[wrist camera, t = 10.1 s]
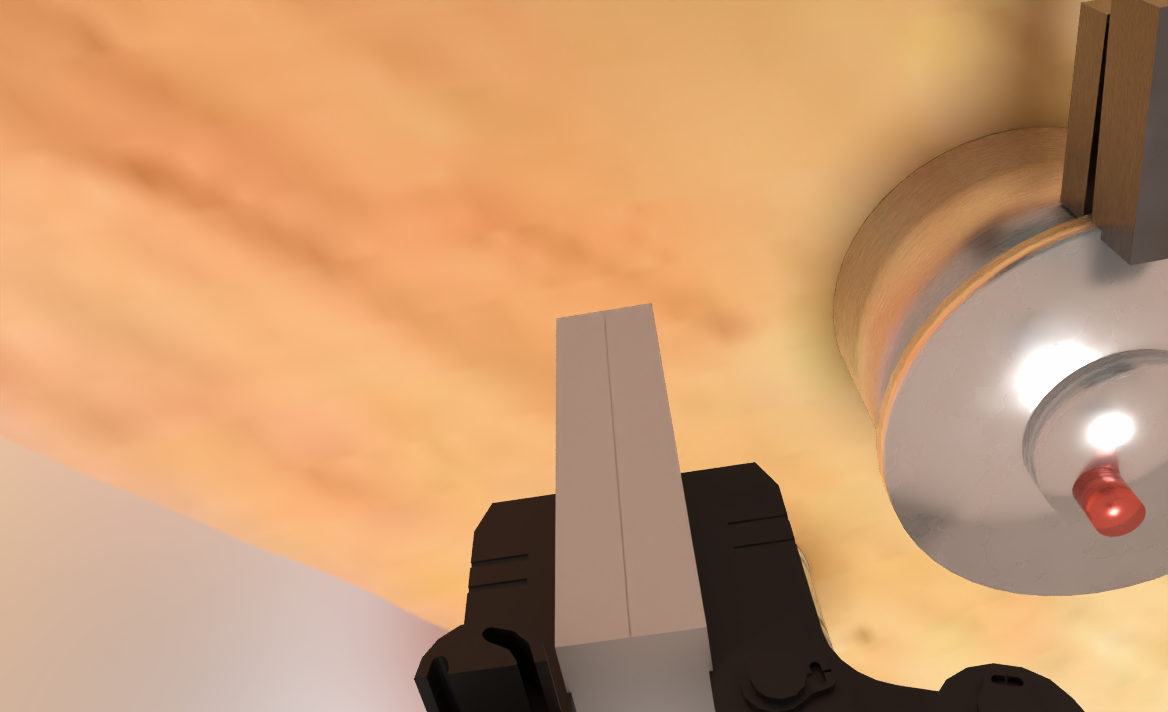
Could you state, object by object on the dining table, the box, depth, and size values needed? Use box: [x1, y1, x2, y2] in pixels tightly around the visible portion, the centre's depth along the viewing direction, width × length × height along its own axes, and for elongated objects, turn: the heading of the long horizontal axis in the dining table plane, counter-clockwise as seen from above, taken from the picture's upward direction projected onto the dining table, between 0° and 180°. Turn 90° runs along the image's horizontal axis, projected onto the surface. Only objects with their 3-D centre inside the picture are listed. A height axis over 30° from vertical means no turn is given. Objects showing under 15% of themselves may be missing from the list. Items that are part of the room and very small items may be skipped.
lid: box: [876, 0, 1168, 596], centre depth 38 cm, size 28×20×5 cm
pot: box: [833, 0, 1111, 429], centre depth 45 cm, size 28×18×11 cm, turn 9°
